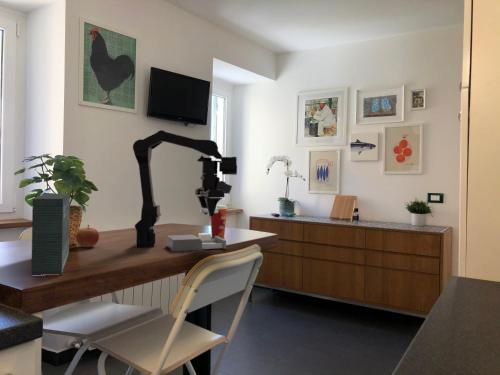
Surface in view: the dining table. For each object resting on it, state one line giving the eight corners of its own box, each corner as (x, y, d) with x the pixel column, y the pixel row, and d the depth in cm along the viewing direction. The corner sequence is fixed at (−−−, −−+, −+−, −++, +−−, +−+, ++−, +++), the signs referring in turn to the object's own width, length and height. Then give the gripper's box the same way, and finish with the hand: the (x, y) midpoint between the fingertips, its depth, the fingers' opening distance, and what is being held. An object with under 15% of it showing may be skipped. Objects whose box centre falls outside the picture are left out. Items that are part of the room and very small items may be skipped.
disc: (202, 213, 148) (202, 208, 148) (197, 211, 155) (197, 207, 155) (220, 213, 151) (220, 208, 151) (215, 211, 158) (215, 207, 158)
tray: (198, 249, 146) (198, 241, 146) (191, 244, 156) (191, 236, 156) (227, 248, 150) (227, 240, 150) (218, 243, 160) (218, 236, 160)
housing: (172, 251, 142) (173, 240, 142) (167, 246, 153) (167, 235, 153) (201, 250, 146) (202, 239, 146) (194, 245, 157) (194, 234, 156)
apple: (85, 244, 151) (85, 223, 151) (103, 246, 149) (103, 224, 149) (70, 248, 143) (70, 225, 143) (89, 249, 141) (89, 226, 141)
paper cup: (225, 238, 176) (226, 206, 175) (208, 237, 176) (209, 205, 175) (227, 235, 183) (228, 205, 183) (210, 235, 184) (211, 204, 183)
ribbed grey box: (45, 255, 130) (45, 193, 129) (68, 254, 132) (69, 193, 132) (31, 277, 103) (32, 198, 102) (61, 275, 105) (62, 198, 105)
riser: (201, 243, 161) (201, 234, 161) (198, 241, 164) (198, 233, 164) (210, 243, 162) (210, 234, 162) (207, 241, 166) (208, 233, 166)
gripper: (238, 174, 147) (237, 217, 148) (222, 174, 164) (221, 212, 165) (209, 173, 143) (208, 218, 143) (195, 173, 160) (194, 213, 160)
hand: (208, 215), depth 153 cm, fingers closed on disc, 7 cm apart
